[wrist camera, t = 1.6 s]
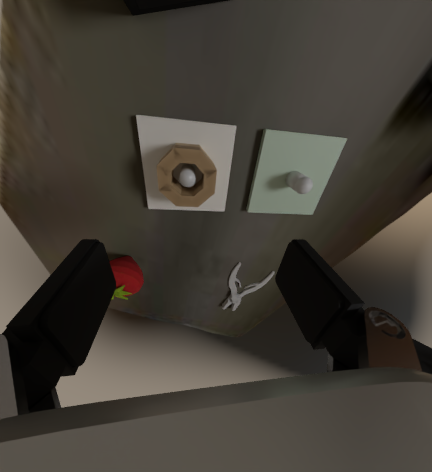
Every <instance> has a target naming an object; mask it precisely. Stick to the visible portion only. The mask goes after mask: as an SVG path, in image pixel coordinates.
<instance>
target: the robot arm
mask: <svg viewBox="0 0 432 472" xmlns="http://www.w3.org/2000/svg"><path fill="white" fill-rule="evenodd" d="M275 280H276V283H277V285H278V287H279V289H280V291H281V293H282V295H283V297H284V299H285V301H286V303H287V304H288V306H289V308H290V310H291V312H292V314H293V316H294V318H295V320H296V322H297V324H298V326H299V327H300V329H301V331H302V333H303V335H304V337H305V339H306V340H307V341H308V342H309V343H310V344H311V346H312V347H313V349H324V348H325V347H326V349H327V351H328V352H329V353H328V364H327V372H326V373H318V374H310V375H302V376H294V377H286V378H278V379H270V380H262V381H254V382H247V383H239V384H231V385H223V386H217V387H209V388H200V389H194V390H185V391H178V392H170V393H163V394H156V395H148V396H141V397H133V398H126V399H118V400H111V401H104V402H96V403H91V404H83V405H77V406H71V407H64V408H61V405H60V402H59V399H58V395H57V392H56V388H55V386H56V385H57V383H58V381H59V379H60V377H61V376H70V375H75V373H76V371H77V369H78V367H79V366H81V365H82V364H83V363H84V362H85V360H86V357H87V355H88V353H89V350H90V348H91V346H92V343H93V341H94V339H95V336H96V334H97V332H98V329H99V327H100V325H101V322H102V320H103V318H104V315H105V313H106V310H107V308H108V306H109V303H110V301H111V299H112V296H113V294H114V292H115V289H116V280H115V277H114V274H113V271H112V268H111V265H110V262H109V259H108V256H107V253H106V250H105V247H104V244H103V243H100V242H99V241H98V240H97V239H83V240H81V241H80V242H79V243H78V244H77V246H76V247H75V248H74V249H73V250H72V251H71V252H70V254H69V255H68V256H67V257H66V258H65V259H64V261H63V262H62V263H61V264H60V265H59V266H58V267H57V269H56V270H55V271H54V272H53V273H52V274H51V275H50V277H49V278H48V279H47V280H46V282H45V283H43V285H42V286H41V287H40V288H39V289H38V290H37V292H36V293H35V294H34V295H33V296H32V297H31V299H30V300H29V301H28V302H27V303H26V304H25V305H24V306H23V308H22V309H21V310H20V311H19V312H18V313H17V314H16V316H15V317H14V318H13V319H12V320H11V321H10V323H9V324H8V325H7V326H6V327H7V328H6V330H5V331H4V332H3V333H2V334H0V472H432V348H430V347H428V346H426V345H424V344H422V343H420V342H418V341H416V340H414V339H412V337H411V335H410V332H409V330H408V329H407V328H406V326H405V325H404V324H403V323H402V322H401V321H400V320H399V319H397V318H396V317H395V316H393V315H392V314H390V313H388V312H386V311H384V310H382V309H379V308H375V307H370V308H367V309H366V310H365V311H364V310H363V308H362V306H363V304H364V302H363V301H362V300H361V299H360V298H359V297H358V296H357V294H356V293H355V292H354V291H353V290H352V289H351V288H350V287H349V286H348V285H347V284H346V283H345V282H344V281H343V280H342V279H341V277H339V275H338V274H337V273H336V272H335V271H334V270H333V269H332V268H331V267H330V266H329V265H328V264H327V263H326V261H325V260H324V259H323V258H322V257H321V256H320V255H319V254H318V253H317V252H316V251H315V250H314V249H313V248H312V247H311V246H310V244H309V243H308V242H307V241H306V240H292V241H291V242H290V243H289V244H288V246H287V249H286V251H285V254H284V256H283V259H282V262H281V264H280V267H279V269H278V272H277V274H276V277H275Z"/></svg>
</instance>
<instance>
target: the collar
mask: <svg viewBox="0 0 432 472" xmlns="http://www.w3.org/2000/svg"><path fill="white" fill-rule="evenodd" d="M179 163H190V164H195V165H196V166H197V167H198V168H199V169H200V171H201V172H202V179H201V180H199V181H198V182H197V183H196V184H195V185H194V186H191V187H185V186H183V185H181V184H180V183H179V182H178V181H177V180H176V179H175V178H174V175H173V169H174V168H175V167H176V166H177V165H178V164H179ZM216 175H217V169H216V167H215V165H214V163H213V161H212V160H211V159H210V158H209V156H208V155H207V154H206V152H205V151H204V150H203V149H202V147H201V146H200V145H196V144H186V143H176V144H175V145H174V146H173V147H172V148H171V149H170V150H169V151H168V152H167V153H166V154H165V155H164V156H163V157H162V158H161V160H160V161H159V163H158V164H157V178H158V189H159V191H160V192H161V193H162V194H163V195H164V196H165V197H166V198H167V199H169V200H170V201H171V202H172V203H173V204H174V205H175V206H180V207H199V206H200V205H201V204H203V203H204V202H205V201H206V200H207V199H209V198H210V197H211V196H212V195H213V194H215V185H216Z"/></svg>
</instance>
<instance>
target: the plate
mask: <svg viewBox="0 0 432 472" xmlns="http://www.w3.org/2000/svg"><path fill="white" fill-rule="evenodd" d="M346 140H347V138H342V137H333V136H324V135H315V134H306V133H297V132H288V131H279V130H270V129H264V130H263V135H262V139H261V144H260V148H259V153H258V158H257V162H256V167H255V172H254V176H253V181H252V185H251V190H250V195H249V199H248V204H247V209H246V210H247V212H254V213H282V214H309V215H312V214H313V212H314V210H315V208H316V206H317V204H318V201H319V199H320V197H321V195H322V193H323V191H324V188H325V186H326V184H327V182H328V180H329V177H330V175H331V173H332V171H333V169H334V167H335V164H336V162H337V160H338V158H339V156H340V154H341V151H342V149H343V147H344V145H345V143H346Z"/></svg>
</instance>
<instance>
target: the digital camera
mask: <svg viewBox="0 0 432 472" xmlns="http://www.w3.org/2000/svg"><path fill="white" fill-rule="evenodd" d="M221 1H228V0H124V2H125V3H126V5H127V7H128V8H129V10H130V11H131V13H132V15H140V14H146V13H152V12H159V11H165V10H171V9H177V8H184V7H190V6H196V5H202V4H209V3H215V2H221Z"/></svg>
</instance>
